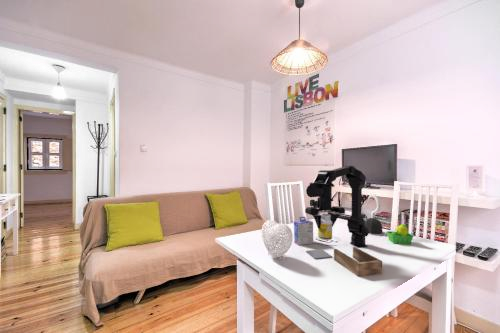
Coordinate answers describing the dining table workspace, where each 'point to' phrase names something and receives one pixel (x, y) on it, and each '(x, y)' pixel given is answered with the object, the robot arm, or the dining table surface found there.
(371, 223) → the hook
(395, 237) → the fruit basket
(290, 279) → the dining table surface
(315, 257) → the coaster
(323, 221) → the pill bottle
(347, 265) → the shelf bay
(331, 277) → the dining table surface
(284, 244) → the decorative heart
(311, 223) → the ink cartridge box
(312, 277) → the dining table surface
